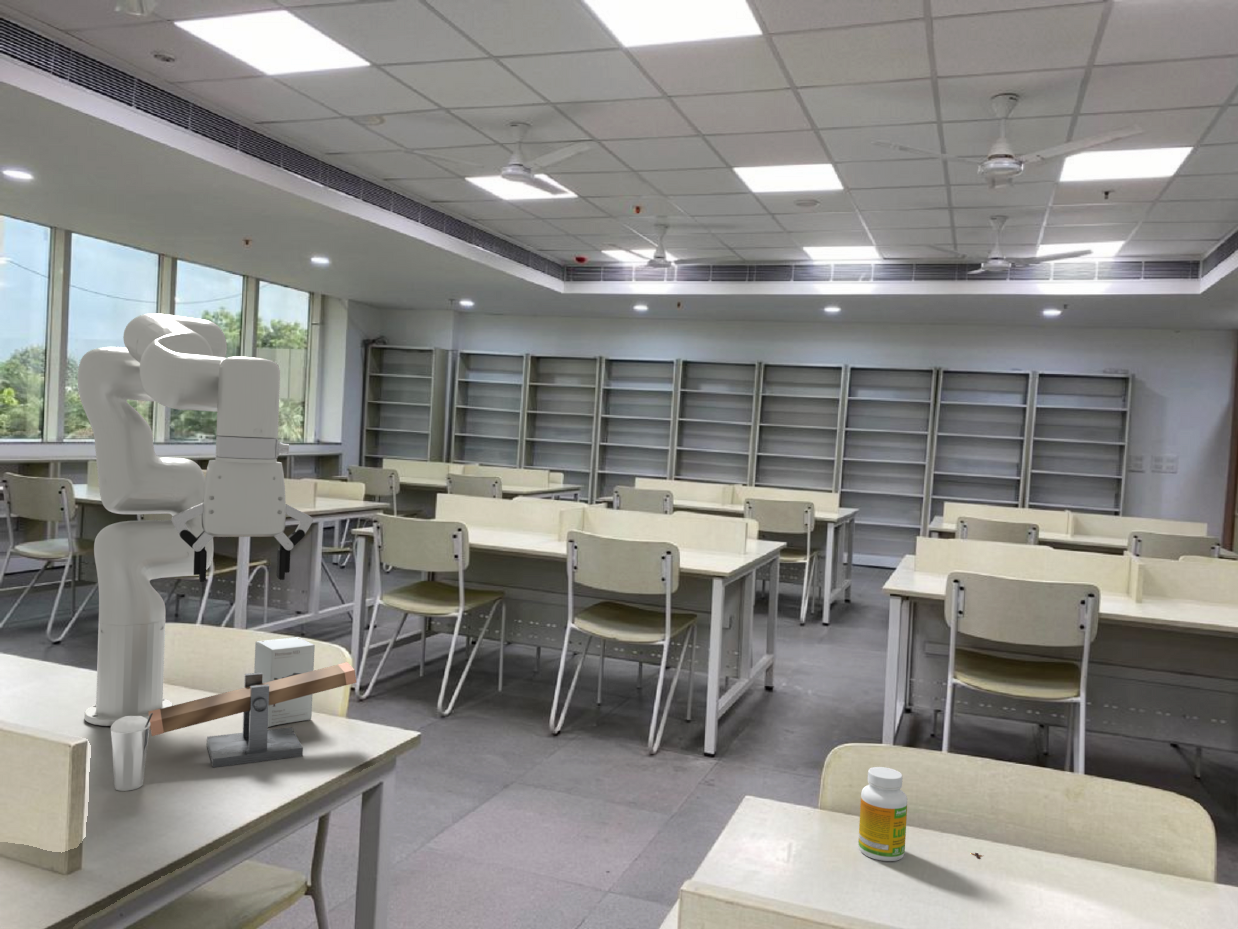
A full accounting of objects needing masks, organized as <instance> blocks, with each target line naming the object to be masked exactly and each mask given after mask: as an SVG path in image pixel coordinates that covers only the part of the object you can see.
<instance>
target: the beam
mask: <svg viewBox="0 0 1238 929" xmlns="http://www.w3.org/2000/svg"><path fill="white" fill-rule="evenodd" d="M356 683H357V676H356V670H355V669H354V668H353V666H352V665H351V664H350V663H349V662H348V661H346V662H341V663H338V664H335V665H330V666H327V667H322V668H318V669H314V671H310V672H306V673H302V674H298V675H294V676H290V677H286V678H282V679H278V680H274V681H270V682H266V683H262V684H258V685H267V684H268V685H269V705H273V704H276V703H280V702H284V701H288V700H292V699H295V698H299V697H303V696H307V695H311V694H313V695H314V694H315V695H316V694H317V693H322V692H326V691H329V690H333V689H334V690H335V689H336V688H337V689H338V688H341V687H345V686H349V685H353V684H356ZM253 686H255V685H253ZM250 689H251V686H249V687H246V688H244V687H242V688H238V689H235V690H230V691H226V692H223V693H218V694H214V695H210V696H206V697H203V698H202V697H201V698H199V699H193V700H190V701H186V702H181V703H178V704H173V706H170V707H166V708H162V709H157V710H153V711H149V716H150V714H151V713H153V714H152V717H151V719H150V721H149V722H150V733H151V737H154V736H158V735H161V734H165V733H168V732H172V731H176V730H180V729H184V728H189V727H192V726H195V725H199V724H203V723H208V722H211V721H215V720H219V719H222V718H226V717H230V716H234V715H237V714H241V713H242V714H243V712H246V711H250Z"/></svg>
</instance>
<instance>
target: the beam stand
mask: <svg viewBox="0 0 1238 929" xmlns="http://www.w3.org/2000/svg"><path fill="white" fill-rule="evenodd" d="M262 678H263V674H262V672H261V673H254V672H253V673H252V672H251V673H244V683H243V684H244V686H243V688H246V687H249V686H251V689H250V711H246V712H242V715H243V716H242V732H238V733H236V732H235V733H228V734H220V735H219V734H218V735H212V736H211V735H210V736H207V737H206V748H207V751H208V754H209V759H210V761H211V766H212V768H219V767H226V766H227V767H228V766H235V765H244V764H251V763H260V762H267V761H274V760H281V759H291V758H298V757H303V755H304V747H303V745H302V744H301V742H300V740H299V738H298V736H297V735H296V733H295V731H294V729H293V727H283V728H274V729H273V728H272V729H269V727H268V709H269V685H268V684H267V685H258V684H262ZM253 685H255V686H253Z"/></svg>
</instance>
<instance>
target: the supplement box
mask: <svg viewBox="0 0 1238 929" xmlns="http://www.w3.org/2000/svg"><path fill="white" fill-rule="evenodd" d="M298 638H300V637H299V636H296V637H286V638H275V639H267V640H258V641H255V643H254V644H255V645H254V649H255V650H254V667H253V670H254V671H253V673H261V672H262V674H263V678H262V683H266V682H270V681H274V680H278V679H282V678H286V677H290V676H294V675H298V674H302V673H306V672H310V671H314V670H315V669H314V667H315V647H316V646H315V644H314V643H312V642H309V641H307V640H305V639H304V638H301V639H298ZM313 695H314V694H311V695H307V696H303V697H299V698H295V699H292V700H288V701H284V702H280V703H276V704H273V705H269V709H268V728H270V727H275V726H278V725H283V724H289V723H295V722H301V721H310V720H312V714H313Z"/></svg>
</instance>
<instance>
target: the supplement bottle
mask: <svg viewBox="0 0 1238 929" xmlns="http://www.w3.org/2000/svg"><path fill="white" fill-rule="evenodd" d="M867 783H868V784H866V786H864V787H863V788H862V789H861V794H860V807H859V823H858V824H859V826H858V828H859V829H858V844H857V845H858V849H859V851H860V852H861V853H862V854H864V856H865V857H866V856H867V857H869V858H870V859H873V860H877V861H882V862H896V861H897V862H898V861H899V860H902V859H903V858H904V856H905V852H906V851H905V850H906V835H907V819H908V818H907V816H908V797H907V794H906V793H905V792H904V791H903V790H902V788H903V773H901V772H900V771H898V770H897V769H894V768H889V767H885V766H884V767H883V766H873V767H870V768H869V769H868V771H867Z"/></svg>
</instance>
